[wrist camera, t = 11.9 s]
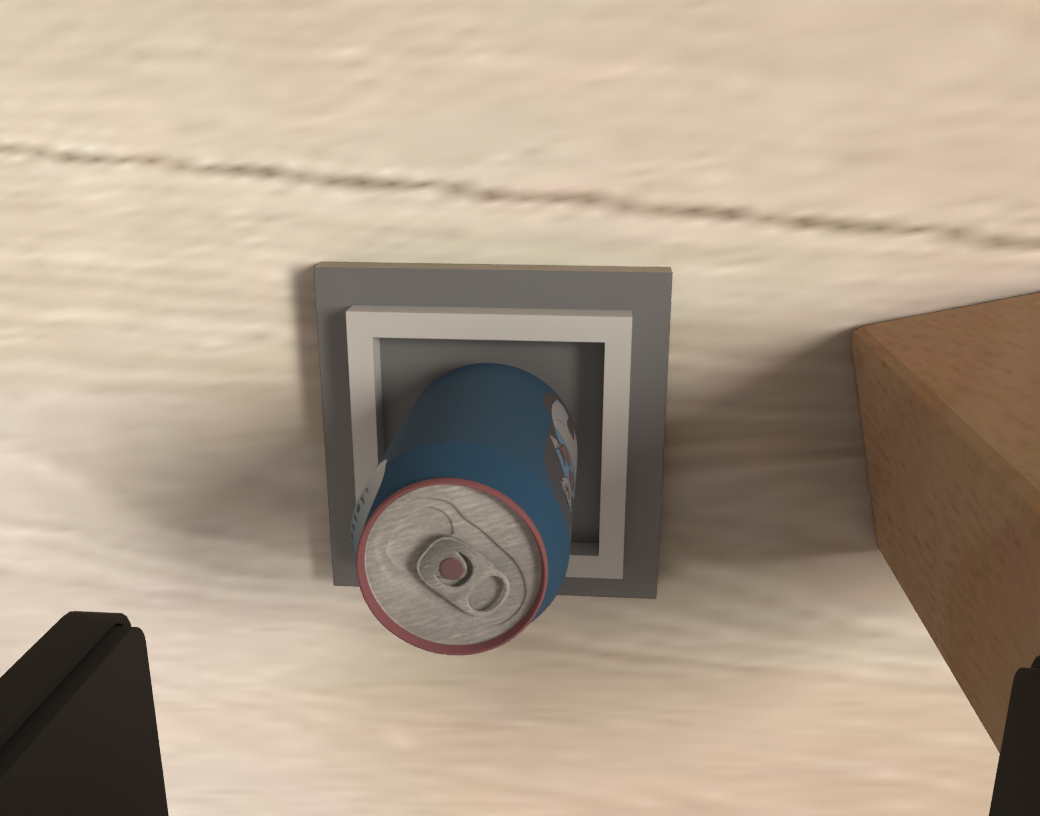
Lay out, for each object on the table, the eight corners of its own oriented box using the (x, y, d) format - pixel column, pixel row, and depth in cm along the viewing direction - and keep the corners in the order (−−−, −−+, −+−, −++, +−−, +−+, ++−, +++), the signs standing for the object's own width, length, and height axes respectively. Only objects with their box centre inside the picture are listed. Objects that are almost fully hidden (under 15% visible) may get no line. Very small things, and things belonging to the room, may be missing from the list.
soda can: (377, 445, 41) (290, 582, 30) (478, 319, 39) (427, 414, 28) (508, 544, 42) (472, 714, 31) (614, 425, 40) (617, 560, 29)
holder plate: (322, 261, 40) (305, 272, 38) (670, 267, 39) (674, 278, 37) (340, 572, 45) (326, 598, 42) (654, 585, 43) (657, 612, 41)
